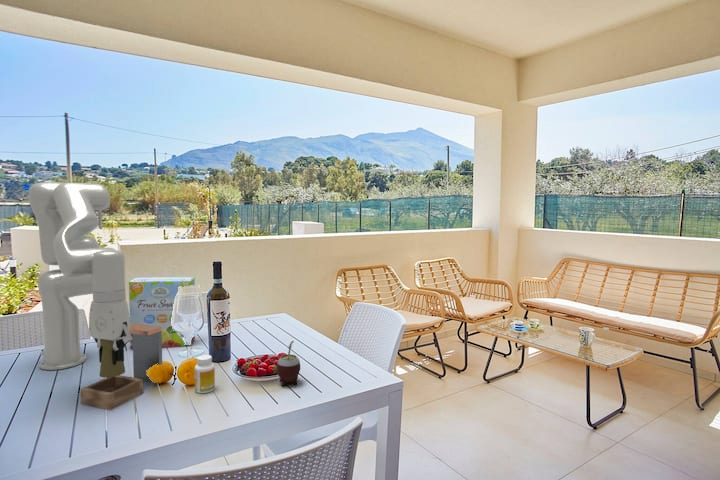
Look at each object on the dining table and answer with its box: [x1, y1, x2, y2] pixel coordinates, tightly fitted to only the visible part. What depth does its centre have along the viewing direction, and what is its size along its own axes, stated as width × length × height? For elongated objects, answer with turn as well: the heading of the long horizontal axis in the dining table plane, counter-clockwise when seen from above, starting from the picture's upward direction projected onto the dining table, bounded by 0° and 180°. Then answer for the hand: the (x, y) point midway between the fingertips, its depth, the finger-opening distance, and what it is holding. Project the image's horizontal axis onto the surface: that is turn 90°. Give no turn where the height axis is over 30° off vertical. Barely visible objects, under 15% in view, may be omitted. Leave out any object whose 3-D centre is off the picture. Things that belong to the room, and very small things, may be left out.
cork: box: [99, 336, 126, 379], centre depth 110 cm, size 6×6×11 cm
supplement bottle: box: [194, 354, 216, 394], centre depth 117 cm, size 5×5×10 cm
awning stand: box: [130, 323, 163, 384], centre depth 120 cm, size 10×5×17 cm, turn 72°
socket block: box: [79, 374, 144, 411], centre depth 111 cm, size 10×10×4 cm
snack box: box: [128, 276, 196, 350], centre depth 153 cm, size 22×9×26 cm, turn 104°
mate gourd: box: [276, 340, 301, 388], centre depth 121 cm, size 8×8×15 cm
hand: (111, 361), depth 110 cm, fingers closed on cork, 3 cm apart
